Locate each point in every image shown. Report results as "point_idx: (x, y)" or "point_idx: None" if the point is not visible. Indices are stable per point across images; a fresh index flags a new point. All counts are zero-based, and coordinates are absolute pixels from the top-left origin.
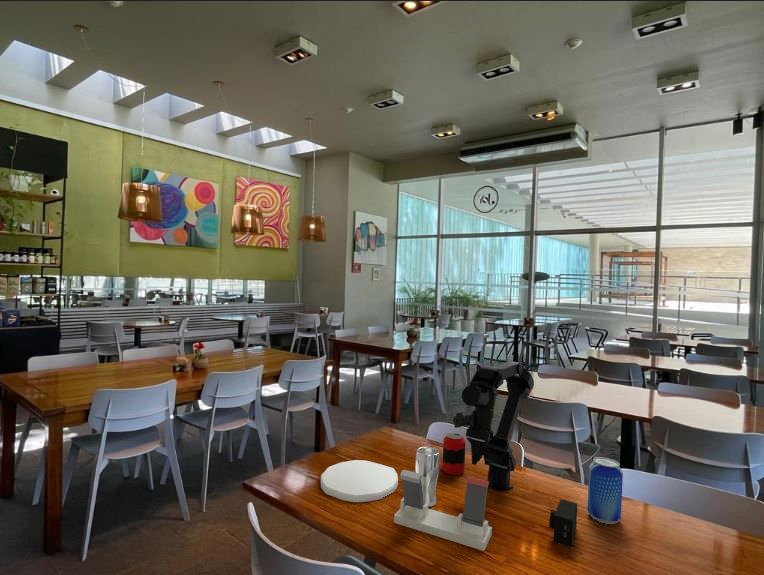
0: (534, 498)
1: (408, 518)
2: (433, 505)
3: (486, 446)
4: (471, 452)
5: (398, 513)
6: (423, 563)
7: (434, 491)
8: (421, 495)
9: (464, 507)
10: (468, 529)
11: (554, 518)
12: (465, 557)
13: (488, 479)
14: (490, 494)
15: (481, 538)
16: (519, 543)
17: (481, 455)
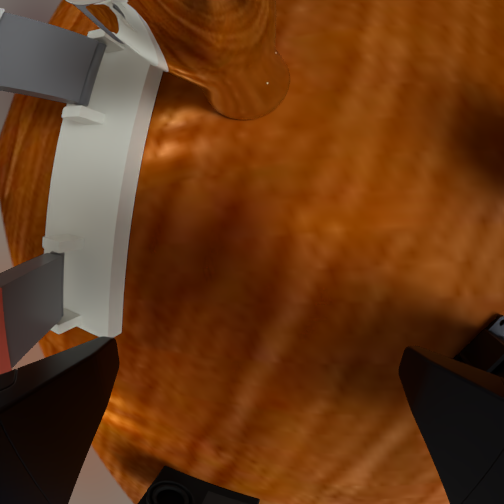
0: (403, 468)
1: None
2: (222, 114)
3: (455, 499)
4: (21, 367)
5: None
6: (3, 179)
7: (219, 95)
8: (30, 94)
9: (32, 260)
10: (70, 267)
11: (139, 502)
12: None
13: (489, 339)
14: (413, 342)
15: None
16: (120, 395)
17: (418, 416)
